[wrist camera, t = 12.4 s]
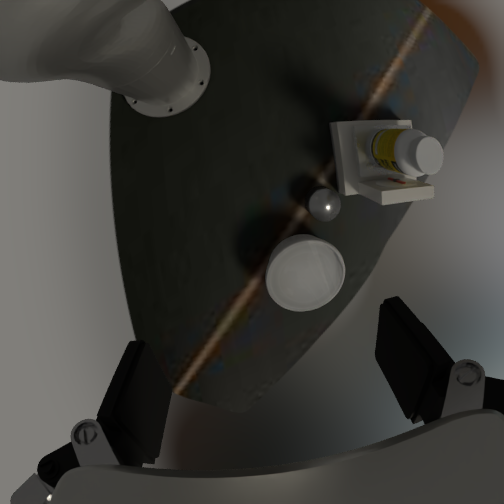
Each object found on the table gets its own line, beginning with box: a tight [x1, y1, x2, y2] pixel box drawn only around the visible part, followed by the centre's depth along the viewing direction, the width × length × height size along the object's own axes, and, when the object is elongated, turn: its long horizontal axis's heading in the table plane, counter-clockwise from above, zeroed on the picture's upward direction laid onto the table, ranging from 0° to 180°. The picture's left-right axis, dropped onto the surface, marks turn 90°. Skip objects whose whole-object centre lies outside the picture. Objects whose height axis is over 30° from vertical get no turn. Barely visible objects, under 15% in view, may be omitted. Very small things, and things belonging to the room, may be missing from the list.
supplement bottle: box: [370, 129, 443, 177], centre depth 27 cm, size 5×5×10 cm
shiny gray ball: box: [305, 186, 341, 221], centre depth 38 cm, size 4×4×3 cm
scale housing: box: [329, 120, 434, 205], centre depth 32 cm, size 10×12×10 cm
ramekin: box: [265, 234, 345, 311], centre depth 40 cm, size 11×11×5 cm
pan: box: [352, 125, 411, 177], centre depth 32 cm, size 7×9×2 cm
